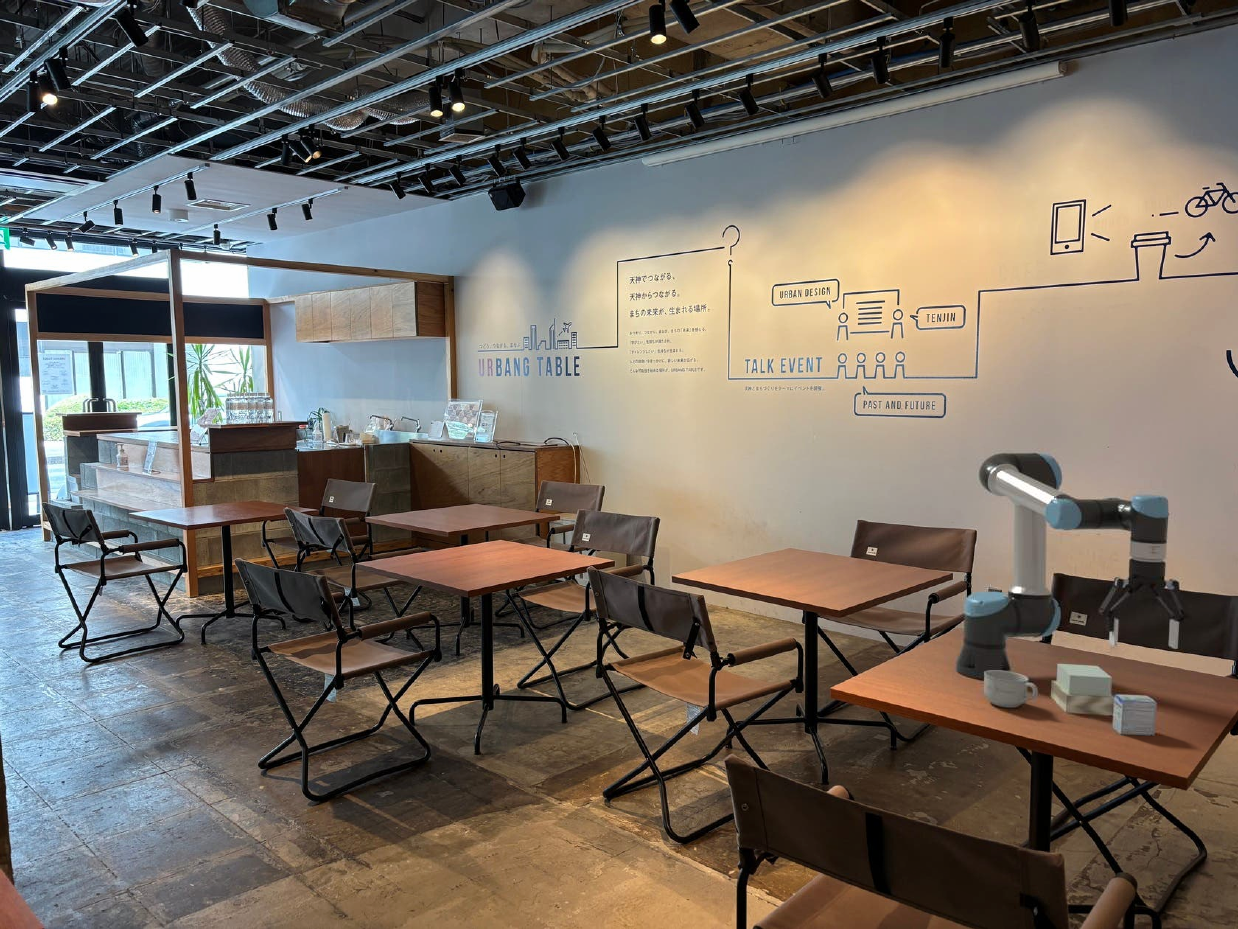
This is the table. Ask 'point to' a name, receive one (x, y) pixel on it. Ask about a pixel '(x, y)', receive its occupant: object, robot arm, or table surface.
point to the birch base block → (1082, 702)
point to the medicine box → (1134, 715)
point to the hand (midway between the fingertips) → (1143, 646)
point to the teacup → (1007, 688)
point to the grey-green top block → (1084, 680)
